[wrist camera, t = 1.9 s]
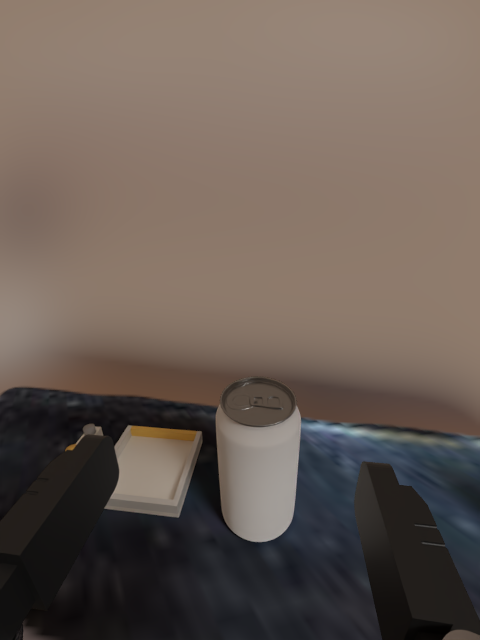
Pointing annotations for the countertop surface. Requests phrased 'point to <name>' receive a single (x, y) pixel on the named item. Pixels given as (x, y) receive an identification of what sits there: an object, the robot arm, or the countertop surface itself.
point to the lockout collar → (154, 469)
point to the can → (258, 456)
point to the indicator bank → (87, 430)
